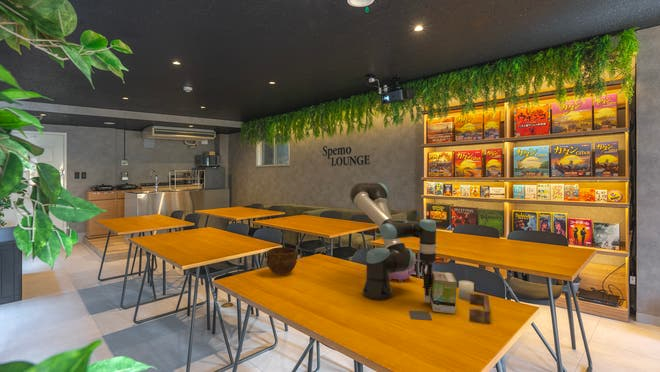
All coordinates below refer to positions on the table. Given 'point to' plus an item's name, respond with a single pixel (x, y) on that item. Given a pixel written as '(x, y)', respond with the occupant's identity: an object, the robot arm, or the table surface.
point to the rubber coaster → (420, 315)
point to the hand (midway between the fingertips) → (427, 301)
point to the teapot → (402, 274)
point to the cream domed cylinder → (465, 289)
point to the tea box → (443, 292)
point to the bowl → (281, 260)
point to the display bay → (478, 314)
